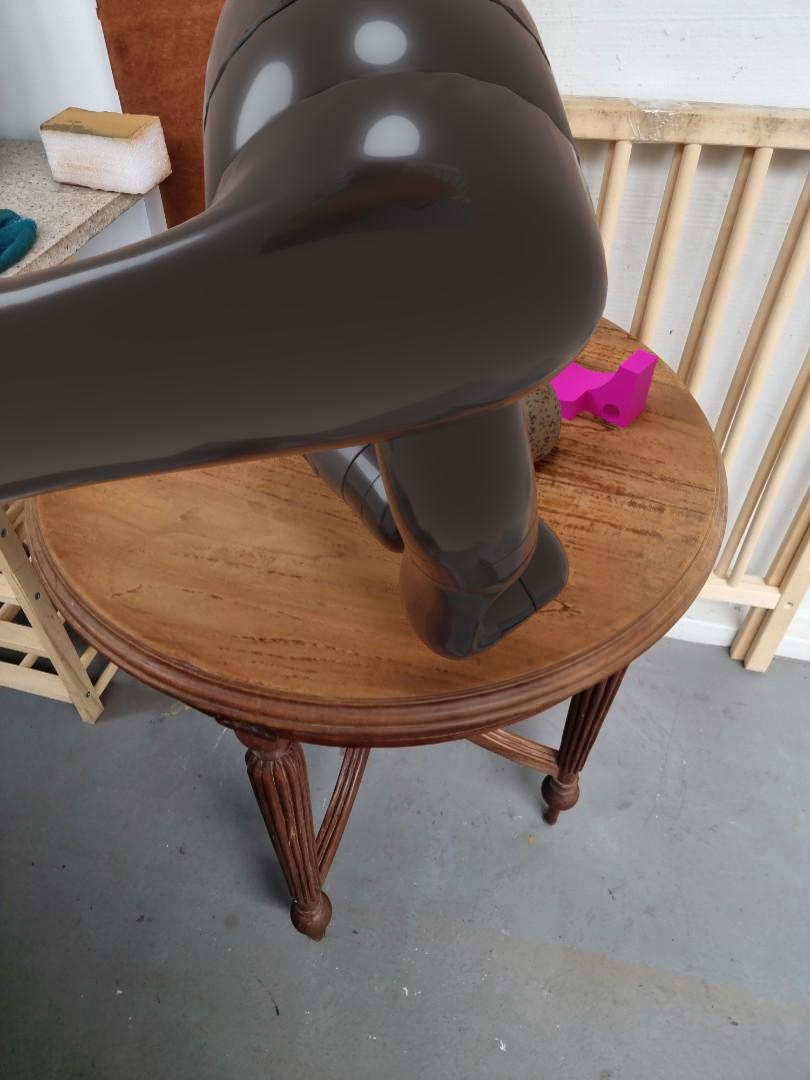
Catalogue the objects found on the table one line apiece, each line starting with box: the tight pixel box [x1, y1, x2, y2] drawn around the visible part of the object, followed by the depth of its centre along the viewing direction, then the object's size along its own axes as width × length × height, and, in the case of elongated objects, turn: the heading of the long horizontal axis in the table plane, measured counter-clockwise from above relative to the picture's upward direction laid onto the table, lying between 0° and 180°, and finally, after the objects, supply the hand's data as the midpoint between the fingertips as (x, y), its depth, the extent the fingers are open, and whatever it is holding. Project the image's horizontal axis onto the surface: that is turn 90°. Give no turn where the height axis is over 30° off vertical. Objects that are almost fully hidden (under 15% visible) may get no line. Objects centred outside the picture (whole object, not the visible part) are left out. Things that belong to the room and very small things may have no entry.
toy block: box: [550, 348, 659, 429], centre depth 78 cm, size 15×6×8 cm, turn 49°
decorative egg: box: [521, 382, 563, 464], centre depth 71 cm, size 7×7×10 cm
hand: (254, 331), depth 68 cm, fingers closed
